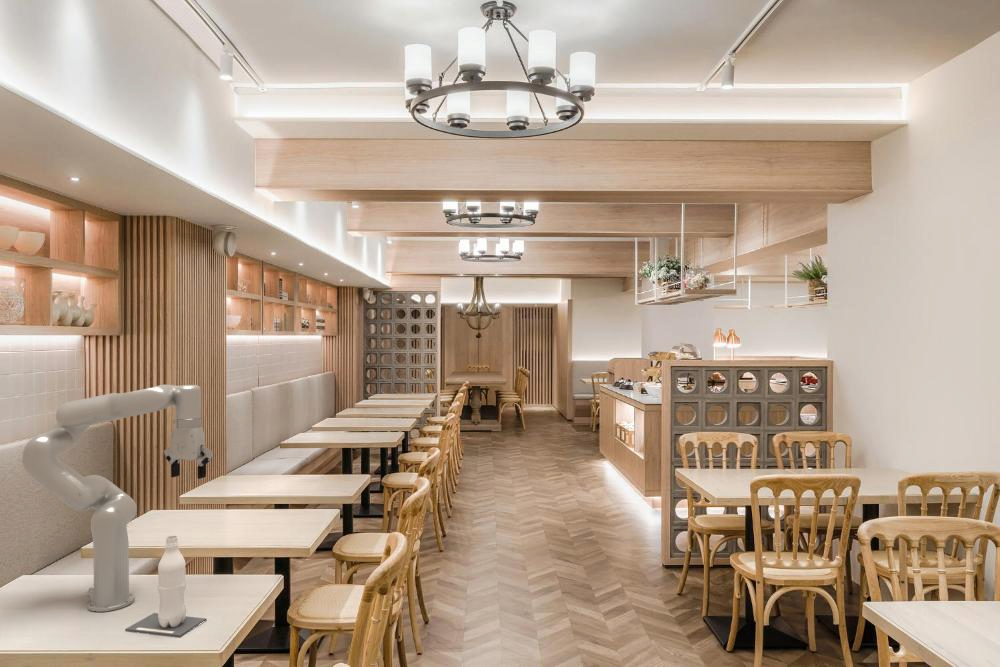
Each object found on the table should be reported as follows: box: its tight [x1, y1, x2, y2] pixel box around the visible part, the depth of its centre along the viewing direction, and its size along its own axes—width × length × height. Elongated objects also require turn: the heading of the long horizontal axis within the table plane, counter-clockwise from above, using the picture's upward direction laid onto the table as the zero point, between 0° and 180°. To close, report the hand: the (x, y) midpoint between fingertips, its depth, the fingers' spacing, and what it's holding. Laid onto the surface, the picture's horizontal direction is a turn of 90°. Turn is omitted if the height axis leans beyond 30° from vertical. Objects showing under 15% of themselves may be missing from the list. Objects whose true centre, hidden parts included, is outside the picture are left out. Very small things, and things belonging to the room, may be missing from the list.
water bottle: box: [157, 535, 187, 628], centre depth 189 cm, size 7×7×25 cm
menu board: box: [124, 612, 207, 638], centre depth 189 cm, size 18×11×1 cm, turn 77°
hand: (188, 477), depth 210 cm, fingers open, 9 cm apart
